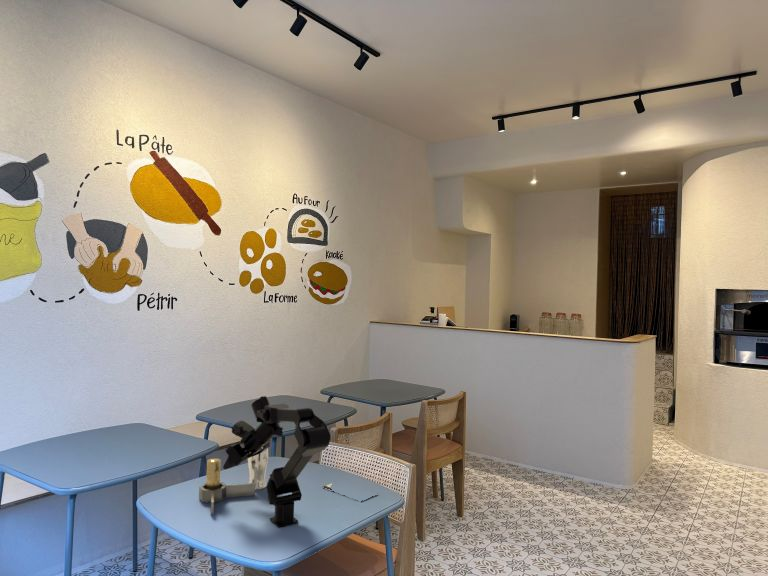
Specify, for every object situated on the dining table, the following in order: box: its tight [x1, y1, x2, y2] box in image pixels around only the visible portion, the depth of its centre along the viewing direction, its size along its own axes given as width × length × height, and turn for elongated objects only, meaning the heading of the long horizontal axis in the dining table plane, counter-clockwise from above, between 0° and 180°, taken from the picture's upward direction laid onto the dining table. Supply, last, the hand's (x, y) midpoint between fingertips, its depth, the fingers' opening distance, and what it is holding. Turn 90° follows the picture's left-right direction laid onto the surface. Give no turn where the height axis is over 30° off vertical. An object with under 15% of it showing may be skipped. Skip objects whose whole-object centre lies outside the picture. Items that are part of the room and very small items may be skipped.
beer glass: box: [247, 447, 269, 491], centre depth 191 cm, size 7×7×15 cm
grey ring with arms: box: [198, 481, 256, 516], centre depth 178 cm, size 17×18×4 cm
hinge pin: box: [205, 458, 222, 490], centre depth 179 cm, size 4×4×12 cm
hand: (232, 464), depth 177 cm, fingers open, 9 cm apart
